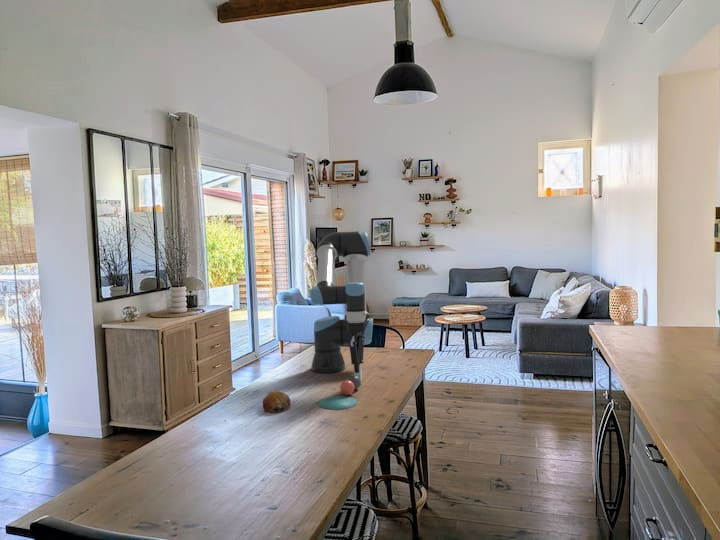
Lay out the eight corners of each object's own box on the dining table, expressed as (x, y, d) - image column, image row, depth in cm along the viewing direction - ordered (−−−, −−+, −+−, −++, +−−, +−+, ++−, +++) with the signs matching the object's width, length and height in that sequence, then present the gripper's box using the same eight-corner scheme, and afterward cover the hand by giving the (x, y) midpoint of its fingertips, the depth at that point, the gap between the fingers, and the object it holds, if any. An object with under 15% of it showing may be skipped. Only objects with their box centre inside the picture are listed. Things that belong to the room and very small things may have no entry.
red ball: (337, 394, 202) (336, 380, 201) (348, 391, 205) (348, 377, 205) (346, 397, 198) (345, 383, 197) (357, 394, 201) (357, 380, 201)
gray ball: (346, 376, 210) (343, 389, 208) (350, 371, 206) (348, 385, 203) (359, 379, 212) (356, 393, 209) (363, 375, 207) (361, 389, 204)
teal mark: (310, 402, 193) (310, 402, 193) (341, 394, 202) (341, 393, 202) (333, 412, 182) (333, 411, 182) (365, 403, 191) (365, 402, 191)
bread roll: (292, 415, 191) (293, 392, 194) (286, 412, 182) (287, 388, 185) (265, 415, 192) (267, 392, 195) (257, 412, 183) (259, 388, 186)
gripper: (359, 324, 203) (361, 385, 204) (370, 319, 215) (371, 376, 217) (341, 323, 205) (343, 383, 207) (352, 318, 218) (354, 375, 219)
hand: (358, 380), depth 212 cm, fingers closed
